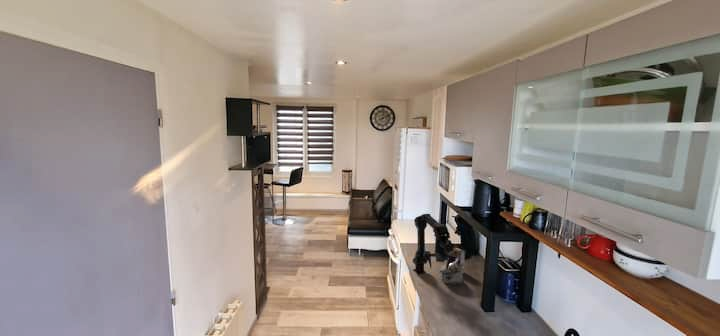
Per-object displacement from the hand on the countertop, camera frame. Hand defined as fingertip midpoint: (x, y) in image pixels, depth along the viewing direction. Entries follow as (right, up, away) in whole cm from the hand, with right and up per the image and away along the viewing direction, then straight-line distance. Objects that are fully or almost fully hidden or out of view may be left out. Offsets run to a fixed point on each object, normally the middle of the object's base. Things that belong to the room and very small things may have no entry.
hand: (438, 268), depth 181 cm
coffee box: (+19, -11, +25) cm, 33 cm away
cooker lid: (+10, -1, +11) cm, 15 cm away
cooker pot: (+12, -12, +12) cm, 21 cm away
